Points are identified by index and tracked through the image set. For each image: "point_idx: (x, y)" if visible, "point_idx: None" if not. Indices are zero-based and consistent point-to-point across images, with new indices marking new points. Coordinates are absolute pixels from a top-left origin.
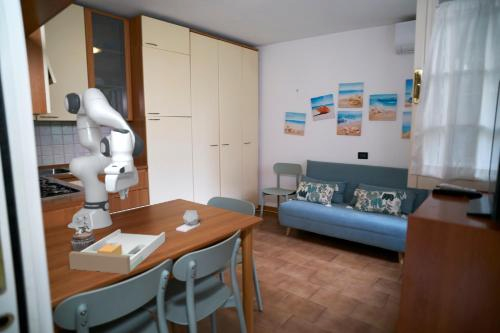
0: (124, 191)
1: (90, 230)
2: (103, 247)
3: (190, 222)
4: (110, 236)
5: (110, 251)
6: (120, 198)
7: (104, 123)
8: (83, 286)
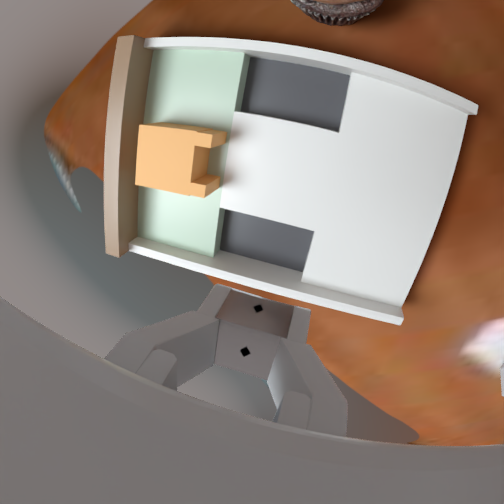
0: (295, 382)
1: None
2: (169, 133)
3: (500, 369)
4: (391, 81)
5: (136, 180)
6: (214, 285)
7: None
8: (77, 147)
